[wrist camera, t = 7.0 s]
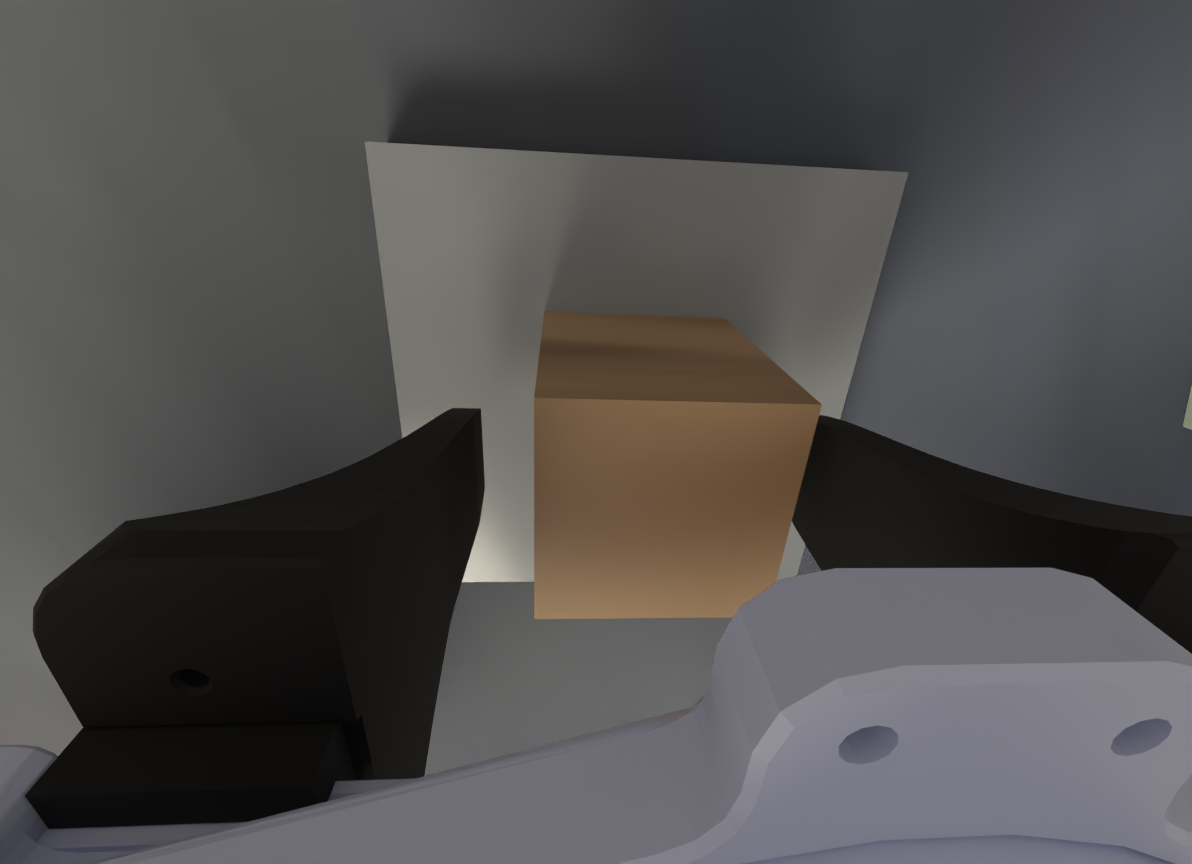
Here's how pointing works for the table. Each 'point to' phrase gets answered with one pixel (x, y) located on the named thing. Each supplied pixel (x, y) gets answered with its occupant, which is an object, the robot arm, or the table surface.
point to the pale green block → (1188, 413)
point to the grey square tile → (608, 283)
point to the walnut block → (661, 466)
